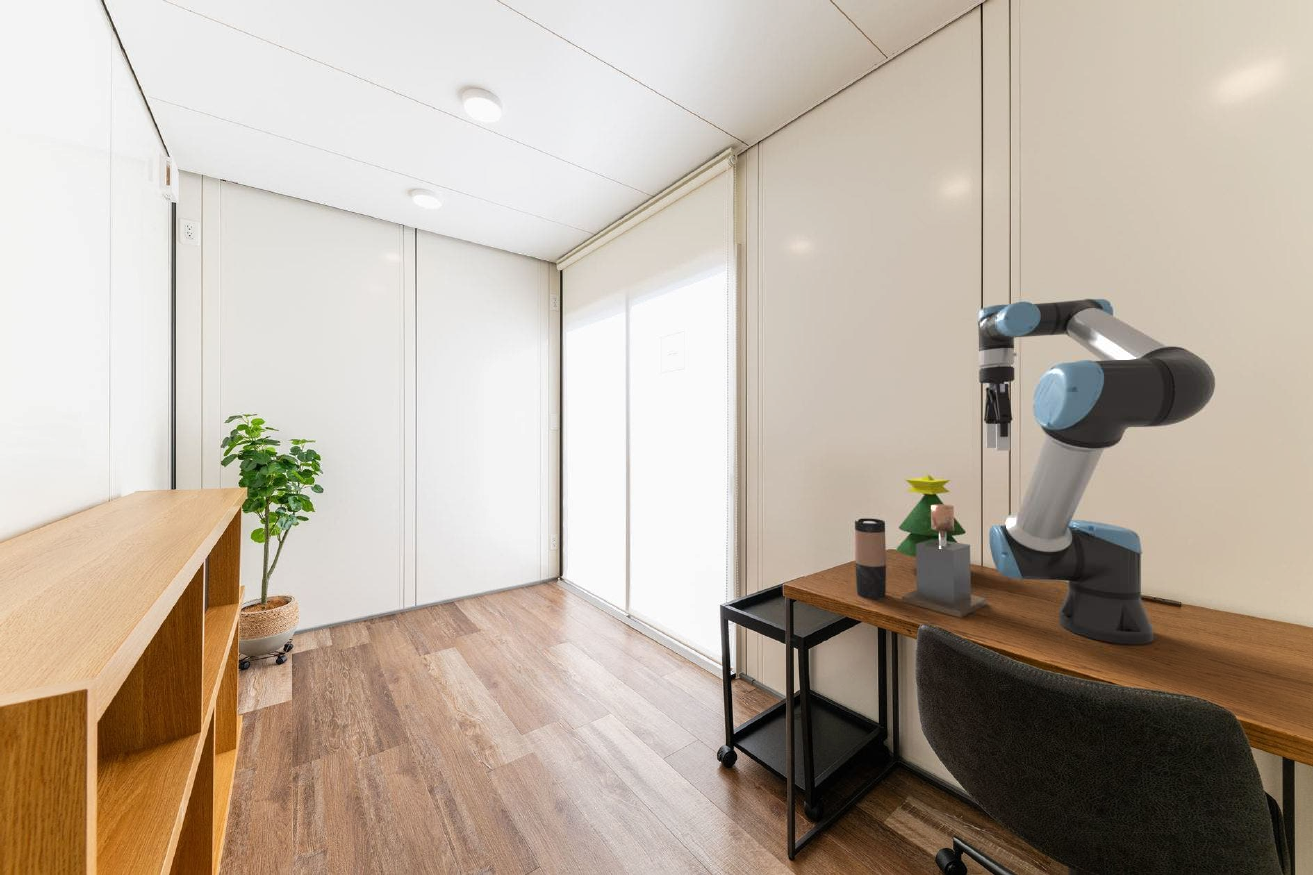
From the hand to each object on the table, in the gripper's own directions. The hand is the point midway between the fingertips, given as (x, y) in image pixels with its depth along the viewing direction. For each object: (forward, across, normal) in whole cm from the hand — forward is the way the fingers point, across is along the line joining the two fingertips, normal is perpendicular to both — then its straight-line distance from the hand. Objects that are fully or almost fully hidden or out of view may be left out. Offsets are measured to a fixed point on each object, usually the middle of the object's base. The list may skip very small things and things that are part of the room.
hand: (997, 449), depth 128 cm
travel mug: (+39, -9, +31) cm, 50 cm away
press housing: (+39, -10, +14) cm, 42 cm away
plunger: (+35, -10, +14) cm, 39 cm away
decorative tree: (+39, +20, +14) cm, 46 cm away
